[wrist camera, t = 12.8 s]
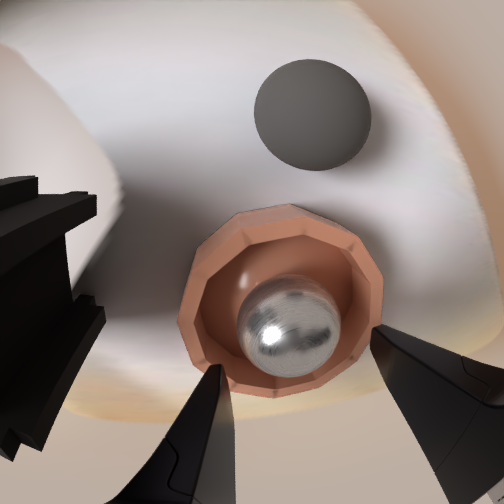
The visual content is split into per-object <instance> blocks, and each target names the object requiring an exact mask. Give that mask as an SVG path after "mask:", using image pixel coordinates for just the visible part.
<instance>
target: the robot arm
mask: <svg viewBox="0 0 504 504" xmlns="http://www.w3.org/2000/svg"><path fill="white" fill-rule="evenodd" d="M370 350H371V352H372V355H373V357H374V359H375V361H376V364H377V366H378V368H379V370H380V373H381V375H382V377H383V380H384V382H385V384H386V386H387V388H388V390H389V391H390V393H391V394H392V396H393V398H394V400H395V402H396V403H397V405H398V407H399V408H400V410H401V412H402V414H403V416H404V417H405V419H406V421H407V423H408V424H409V426H410V428H411V430H412V432H413V433H414V435H415V437H416V439H417V441H418V443H419V444H420V446H421V448H422V450H423V452H424V454H425V456H426V457H427V459H428V461H429V463H430V465H431V467H432V469H433V471H434V472H435V475H436V477H437V479H438V481H439V483H440V485H441V487H442V489H443V491H444V493H445V495H446V497H447V499H448V501H449V504H473V503H474V502H475V501H477V500H478V499H479V498H481V497H482V496H483V495H485V494H486V493H488V495H489V497H490V498H491V500H492V502H493V503H494V504H504V369H502V368H498V367H495V366H491V365H488V364H484V363H481V362H478V361H475V360H473V359H470V358H467V357H465V356H461V355H459V354H457V353H454V352H452V351H449V350H446V349H444V348H441V347H439V346H436V345H434V344H431V343H429V342H426V341H423V340H421V339H418V338H416V337H413V336H411V335H408V334H406V333H403V332H401V331H398V330H396V329H393V328H391V327H388V326H386V325H383V324H381V325H378V326H375V327H373V328H372V330H371V339H370ZM104 504H236V493H235V430H234V417H233V410H232V403H231V396H230V389H229V383H228V379H227V376H226V373H225V370H224V367H223V365H222V364H221V363H219V364H213V365H210V366H209V367H208V369H207V370H206V372H205V373H204V375H203V377H202V378H201V380H200V381H199V383H198V385H197V386H196V388H195V389H194V391H193V393H192V394H191V396H190V397H189V399H188V401H187V402H186V404H185V405H184V407H183V408H182V410H181V412H180V413H179V415H178V416H177V418H176V419H175V421H174V423H173V424H172V426H171V427H170V429H169V430H168V432H167V434H166V435H165V438H163V439H162V441H161V442H160V444H159V446H158V447H157V448H156V450H155V451H154V453H153V454H152V456H151V457H150V458H149V459H148V461H147V462H146V463H145V464H144V466H143V467H142V468H141V469H140V470H139V471H138V473H137V474H136V475H135V476H134V477H133V478H132V479H131V480H130V482H129V483H128V484H127V485H126V486H125V487H124V488H123V489H122V490H121V492H120V493H119V494H118V495H117V496H115V497H114V498H113V499H112V500H110V501H108V502H106V503H104Z"/></svg>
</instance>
